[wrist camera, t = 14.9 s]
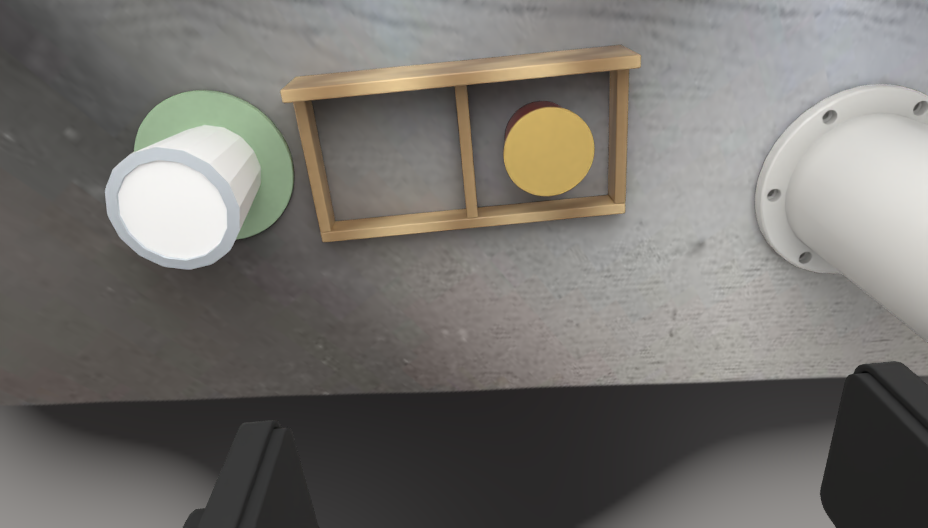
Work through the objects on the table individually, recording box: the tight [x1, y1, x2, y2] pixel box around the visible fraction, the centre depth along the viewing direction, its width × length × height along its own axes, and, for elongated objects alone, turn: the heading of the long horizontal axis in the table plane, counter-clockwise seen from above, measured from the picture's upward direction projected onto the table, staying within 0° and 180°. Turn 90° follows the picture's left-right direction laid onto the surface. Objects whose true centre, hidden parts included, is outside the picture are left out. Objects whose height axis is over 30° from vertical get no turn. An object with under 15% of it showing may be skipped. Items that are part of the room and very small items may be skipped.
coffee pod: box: [503, 101, 595, 196], centre depth 37 cm, size 5×5×4 cm
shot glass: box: [105, 125, 261, 270], centre depth 36 cm, size 7×7×7 cm
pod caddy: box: [280, 45, 641, 242], centre depth 37 cm, size 19×10×4 cm, turn 95°
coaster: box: [134, 90, 294, 240], centre depth 39 cm, size 10×10×1 cm
